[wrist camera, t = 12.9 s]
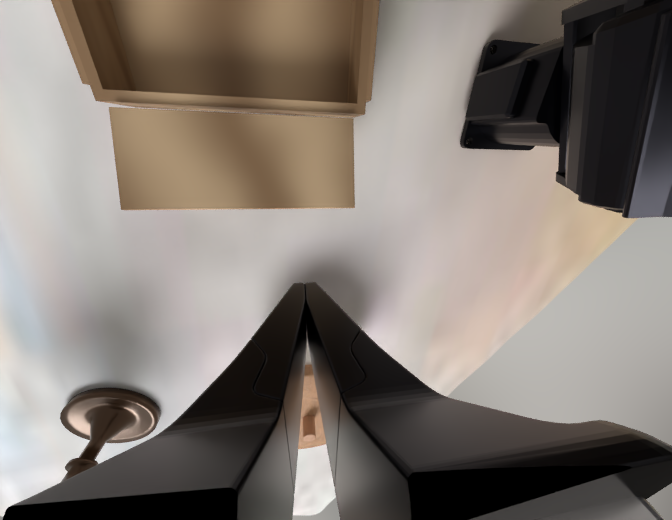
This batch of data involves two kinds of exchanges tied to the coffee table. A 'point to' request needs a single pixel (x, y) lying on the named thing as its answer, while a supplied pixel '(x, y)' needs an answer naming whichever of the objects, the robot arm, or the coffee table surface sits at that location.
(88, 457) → the candlestick
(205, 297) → the coffee table surface
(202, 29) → the carton
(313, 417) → the lidded jar
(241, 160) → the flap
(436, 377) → the coffee table surface
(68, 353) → the coffee table surface
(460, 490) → the robot arm
